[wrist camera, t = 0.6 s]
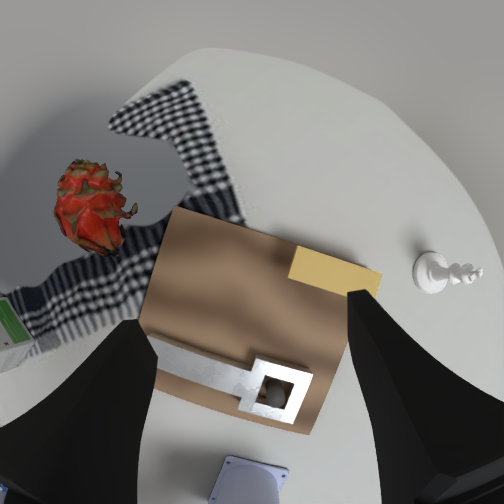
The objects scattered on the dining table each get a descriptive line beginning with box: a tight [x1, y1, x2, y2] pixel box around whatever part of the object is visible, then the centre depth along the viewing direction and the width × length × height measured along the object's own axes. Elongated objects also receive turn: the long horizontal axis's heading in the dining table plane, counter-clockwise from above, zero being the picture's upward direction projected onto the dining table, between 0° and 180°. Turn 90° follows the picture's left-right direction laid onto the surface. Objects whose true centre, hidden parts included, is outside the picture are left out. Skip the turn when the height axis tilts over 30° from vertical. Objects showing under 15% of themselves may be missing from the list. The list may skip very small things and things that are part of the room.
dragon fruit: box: [54, 159, 138, 257], centre depth 31 cm, size 8×8×12 cm
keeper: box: [287, 246, 382, 299], centre depth 31 cm, size 3×8×4 cm, turn 72°
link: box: [147, 332, 313, 424], centre depth 32 cm, size 17×6×2 cm, turn 72°
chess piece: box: [413, 252, 483, 294], centre depth 29 cm, size 5×5×10 cm
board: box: [139, 206, 371, 435], centre depth 31 cm, size 20×22×5 cm
